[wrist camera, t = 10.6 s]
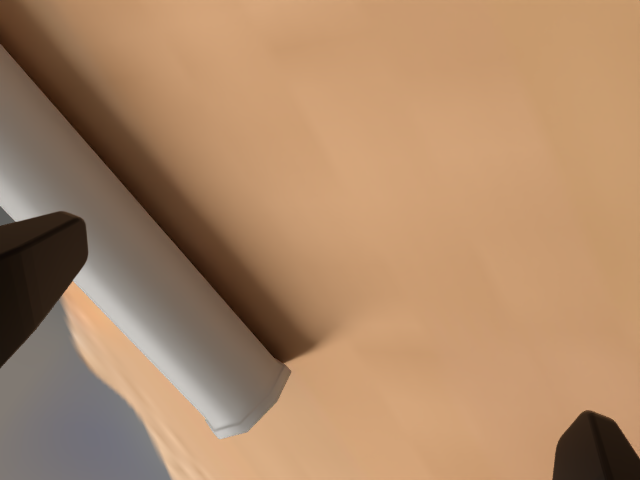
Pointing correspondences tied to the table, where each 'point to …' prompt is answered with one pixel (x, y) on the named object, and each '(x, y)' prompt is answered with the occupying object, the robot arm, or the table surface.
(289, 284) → the table surface
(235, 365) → the tube
